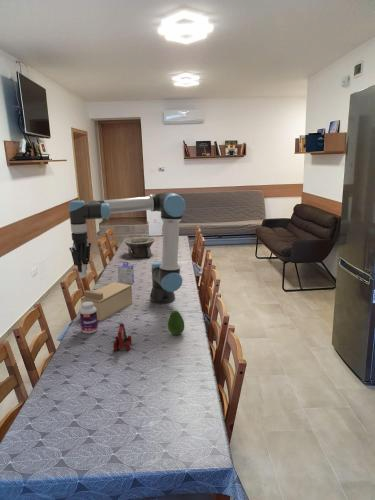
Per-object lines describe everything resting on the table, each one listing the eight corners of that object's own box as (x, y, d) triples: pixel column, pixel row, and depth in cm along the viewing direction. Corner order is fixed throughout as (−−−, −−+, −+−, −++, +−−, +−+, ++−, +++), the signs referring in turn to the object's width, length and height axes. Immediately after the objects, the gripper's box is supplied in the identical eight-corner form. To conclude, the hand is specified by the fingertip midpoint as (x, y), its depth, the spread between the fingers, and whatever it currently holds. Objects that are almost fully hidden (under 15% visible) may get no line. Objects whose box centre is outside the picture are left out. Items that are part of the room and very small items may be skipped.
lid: (131, 286, 214) (131, 280, 213) (99, 302, 190) (99, 296, 189) (113, 283, 220) (113, 277, 219) (80, 299, 196) (80, 292, 195)
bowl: (130, 251, 336) (129, 235, 332) (158, 252, 332) (157, 236, 329) (121, 259, 310) (120, 242, 307) (151, 260, 307) (150, 243, 303)
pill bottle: (83, 335, 177) (80, 308, 173) (79, 329, 184) (77, 302, 180) (99, 332, 181) (97, 304, 177) (95, 325, 188) (93, 299, 184)
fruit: (180, 339, 172) (180, 315, 169) (165, 336, 175) (164, 313, 172) (186, 332, 179) (186, 309, 176) (171, 329, 182) (171, 307, 179)
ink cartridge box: (134, 281, 254) (133, 261, 251) (132, 284, 249) (131, 263, 245) (120, 281, 255) (119, 261, 252) (118, 284, 250) (117, 263, 246)
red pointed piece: (132, 340, 172) (131, 319, 170) (129, 353, 160) (127, 332, 157) (117, 340, 172) (116, 320, 169) (113, 354, 160) (111, 332, 157)
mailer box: (132, 302, 217) (131, 286, 214) (101, 321, 193) (99, 303, 190) (114, 299, 223) (113, 283, 220) (82, 316, 198) (80, 299, 196)
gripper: (83, 228, 189) (87, 272, 195) (62, 234, 177) (67, 280, 183) (94, 229, 186) (98, 274, 192) (74, 235, 174) (78, 282, 179)
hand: (83, 277), depth 187 cm, fingers closed
